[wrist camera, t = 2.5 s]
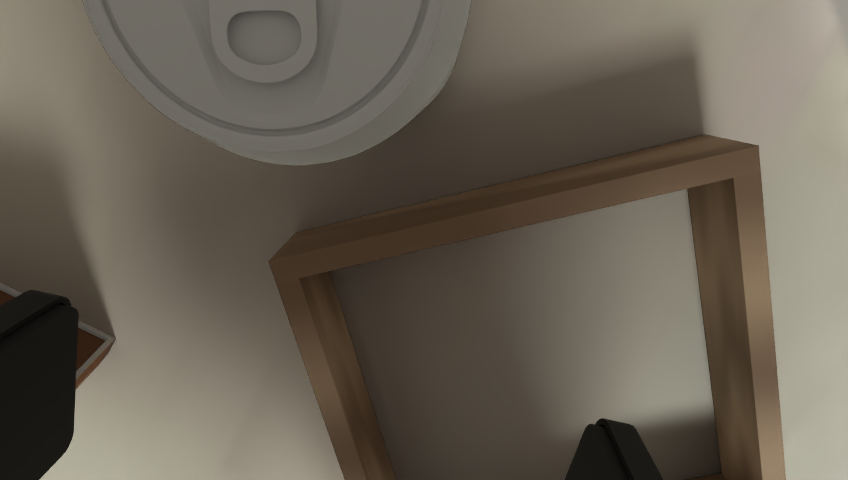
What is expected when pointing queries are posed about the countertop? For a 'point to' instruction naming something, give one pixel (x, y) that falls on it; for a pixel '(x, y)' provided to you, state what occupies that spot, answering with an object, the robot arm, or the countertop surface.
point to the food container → (89, 344)
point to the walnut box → (542, 201)
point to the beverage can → (285, 68)
